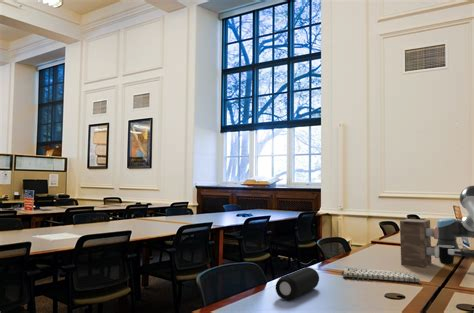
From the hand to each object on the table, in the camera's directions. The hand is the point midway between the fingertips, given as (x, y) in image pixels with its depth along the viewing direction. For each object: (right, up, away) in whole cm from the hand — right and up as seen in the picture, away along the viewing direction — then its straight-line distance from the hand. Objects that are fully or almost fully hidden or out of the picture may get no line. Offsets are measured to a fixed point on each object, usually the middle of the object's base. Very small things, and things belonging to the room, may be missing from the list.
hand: (448, 251), depth 222 cm
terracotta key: (-9, +6, +8) cm, 13 cm away
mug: (+7, -11, +14) cm, 19 cm away
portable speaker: (-94, -7, -49) cm, 106 cm away
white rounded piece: (-9, -5, +7) cm, 12 cm away
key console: (-13, -10, +10) cm, 20 cm away
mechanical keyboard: (-47, -9, -21) cm, 52 cm away
